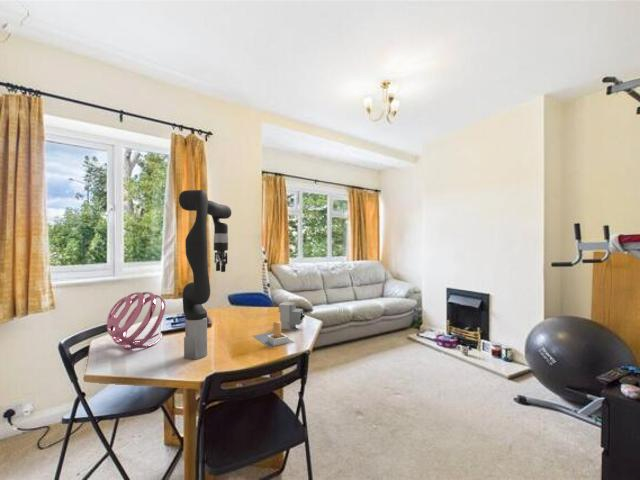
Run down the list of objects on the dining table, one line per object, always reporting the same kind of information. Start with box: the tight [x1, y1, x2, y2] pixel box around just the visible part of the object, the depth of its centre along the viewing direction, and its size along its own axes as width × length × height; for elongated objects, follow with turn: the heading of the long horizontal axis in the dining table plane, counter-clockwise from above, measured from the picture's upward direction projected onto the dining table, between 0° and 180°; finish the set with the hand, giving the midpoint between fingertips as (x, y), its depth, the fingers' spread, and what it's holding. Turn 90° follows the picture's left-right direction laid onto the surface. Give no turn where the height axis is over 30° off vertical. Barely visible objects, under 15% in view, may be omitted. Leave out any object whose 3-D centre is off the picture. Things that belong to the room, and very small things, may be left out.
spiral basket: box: [106, 291, 166, 350], centre depth 154 cm, size 28×28×27 cm
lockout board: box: [252, 331, 294, 349], centre depth 160 cm, size 22×14×4 cm, turn 34°
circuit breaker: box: [278, 301, 306, 330], centre depth 181 cm, size 8×14×15 cm, turn 78°
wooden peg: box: [272, 320, 282, 339], centre depth 155 cm, size 4×4×10 cm
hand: (220, 271), depth 169 cm, fingers open, 8 cm apart
